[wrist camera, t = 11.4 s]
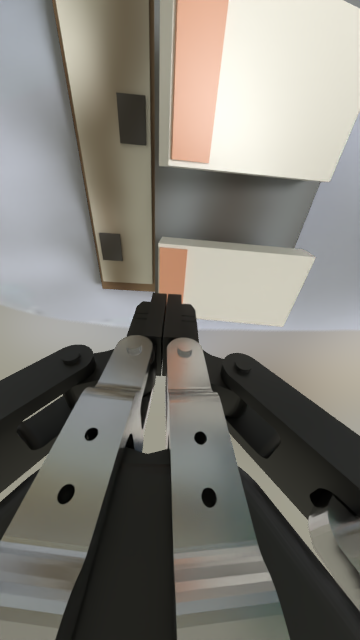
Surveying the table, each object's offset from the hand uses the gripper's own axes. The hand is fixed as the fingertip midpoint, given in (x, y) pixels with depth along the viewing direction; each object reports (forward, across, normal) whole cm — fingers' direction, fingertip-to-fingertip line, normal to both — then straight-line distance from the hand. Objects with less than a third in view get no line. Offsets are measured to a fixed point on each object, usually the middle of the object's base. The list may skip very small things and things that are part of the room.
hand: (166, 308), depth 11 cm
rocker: (+5, -3, -9) cm, 10 cm away
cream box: (+5, -4, 0) cm, 6 cm away
